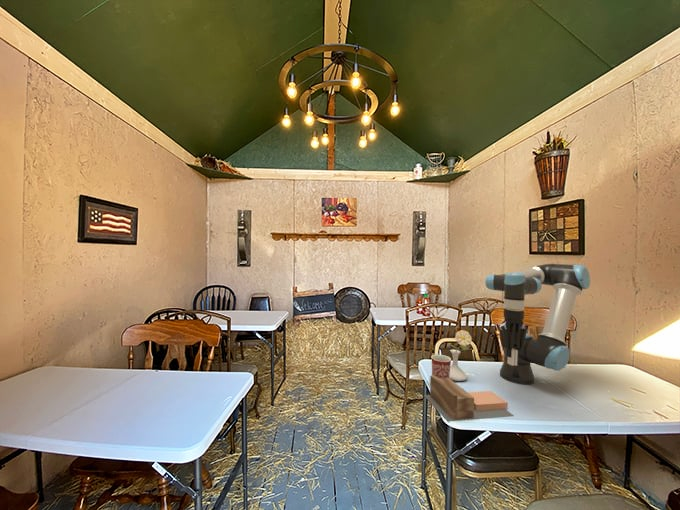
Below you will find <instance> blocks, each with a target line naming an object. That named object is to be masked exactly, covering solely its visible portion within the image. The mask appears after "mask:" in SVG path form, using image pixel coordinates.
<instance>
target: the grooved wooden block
mask: <svg viewBox="0 0 680 510" xmlns="http://www.w3.org/2000/svg"><path fill="white" fill-rule="evenodd" d="M429 380H430V384H429V387H430V388H429V389H430V390H429V395H430V396H431V397H432V398H433V399H434V401H435V402H436V403H437V404H438V405H439V406H440V407H441V408H442V409H443V410H444V411H445V412H446V413H447V414H448V415H449V416H450V417H451V418H452V419H464V418H474V397H472V396H471V395H470V394H469V393H467V390H464V389H463V388H462V387H461V386H460V385H458V383H456V381H454V380H451V379H450V378H437V377H435V376H434V375H432V374H431V375H430V379H429Z"/></svg>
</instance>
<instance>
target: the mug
mask: <svg viewBox="0 0 680 510" xmlns="http://www.w3.org/2000/svg"><path fill="white" fill-rule="evenodd" d="M430 357H431V375H434V376H435V377H437V378H449V375H450V367H451V365H452V364H451V363H452V362H451V361H452V358H451V357H450V356H447V355H444V354H432V355H431V356H430Z"/></svg>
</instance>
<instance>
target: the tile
mask: <svg viewBox="0 0 680 510" xmlns="http://www.w3.org/2000/svg"><path fill="white" fill-rule="evenodd" d="M466 392H467V391H466ZM467 393H469V394H470V395H471V396H472V397H474V410H475V411H487V410H500V409H506V410H508V401H506V400H505V399H504V398H502V397H500V396H499V395H498V394H496V393H494V392H493V391H492V390H486V391H485V390H484V391H469V392H467Z"/></svg>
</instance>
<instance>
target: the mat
mask: <svg viewBox="0 0 680 510" xmlns="http://www.w3.org/2000/svg"><path fill="white" fill-rule="evenodd" d="M423 397H424V398H425V399H426V400H427V401H428V402H429V403H430V405H432V406H433V408H434V409H435V410H437V412H438V414H440V415H441V416H442V417H443V419H444V420H446V422H448V423H450V422H457V421H458V422H459V421H461V422H462V421H472V420H484V419H485V420H486V419H495V418H509V417H515V414H513V413H511V412H510V411H508V409H500V410H487V411H475V410H474V418H464V419H452V418H451V417H450V416H449V415H448V414H447V413H446V412H445V411H444V410H443V409H442V408H441V407H440V406H439V405H438V404H437V403H436V402H435V401H434V399H433V398H432V397H431V396H430V394H424V395H423Z"/></svg>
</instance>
